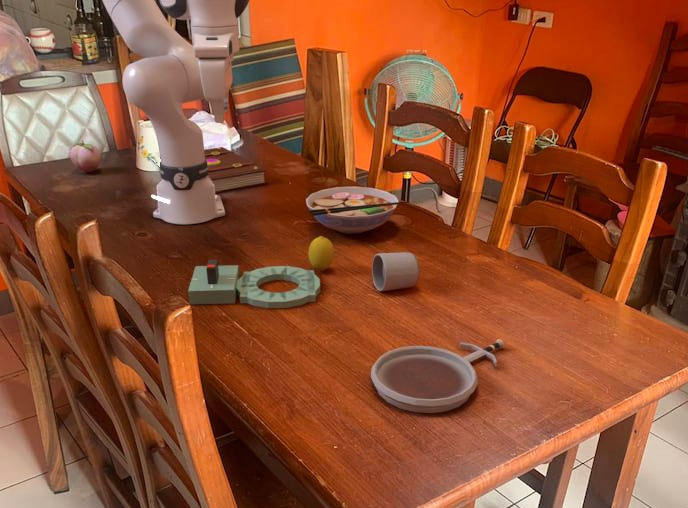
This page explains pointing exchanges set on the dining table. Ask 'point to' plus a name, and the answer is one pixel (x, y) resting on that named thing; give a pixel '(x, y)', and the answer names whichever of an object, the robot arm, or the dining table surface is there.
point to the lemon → (321, 253)
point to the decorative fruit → (85, 156)
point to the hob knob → (212, 271)
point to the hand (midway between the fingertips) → (222, 116)
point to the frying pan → (428, 377)
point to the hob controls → (214, 286)
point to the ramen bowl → (352, 208)
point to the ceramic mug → (395, 271)
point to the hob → (296, 297)
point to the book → (232, 170)
